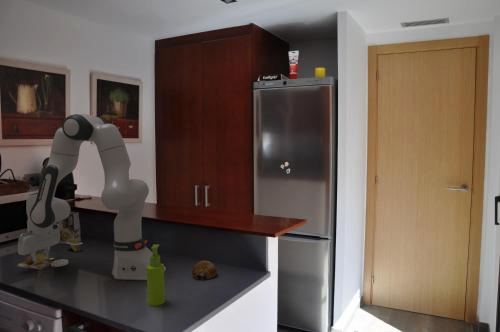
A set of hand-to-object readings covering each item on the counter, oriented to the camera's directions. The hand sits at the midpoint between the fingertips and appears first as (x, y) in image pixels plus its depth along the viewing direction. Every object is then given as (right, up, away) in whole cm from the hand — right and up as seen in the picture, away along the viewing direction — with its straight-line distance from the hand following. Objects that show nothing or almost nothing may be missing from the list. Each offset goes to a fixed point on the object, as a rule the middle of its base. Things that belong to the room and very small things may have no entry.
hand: (40, 258), depth 175 cm
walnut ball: (-6, -3, +2) cm, 7 cm away
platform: (+5, -2, +23) cm, 23 cm away
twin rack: (-3, -3, +1) cm, 5 cm away
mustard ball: (0, -2, 0) cm, 2 cm away
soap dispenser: (+61, -6, -37) cm, 71 cm away
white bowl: (+7, -3, +3) cm, 8 cm away
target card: (-2, -3, +11) cm, 11 cm away
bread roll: (+74, -4, -13) cm, 76 cm away
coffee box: (-5, 0, +39) cm, 39 cm away
